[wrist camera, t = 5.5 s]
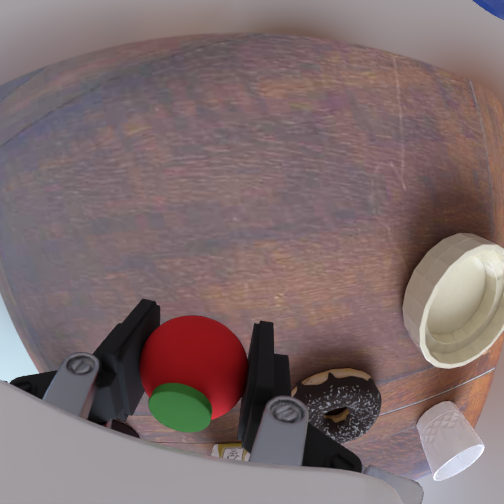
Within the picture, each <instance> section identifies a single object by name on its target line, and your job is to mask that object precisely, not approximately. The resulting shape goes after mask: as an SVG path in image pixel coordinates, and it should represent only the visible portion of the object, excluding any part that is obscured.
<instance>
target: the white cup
mask: <svg viewBox="0 0 504 504" xmlns="http://www.w3.org/2000/svg"><path fill="white" fill-rule="evenodd" d="M416 427H417V430H418V433H419V435H420V438H421V443H422V445H423V449H424V452H425V455H426V458H427V461H428V464H429V467H430V470H431V473H432V475H433V479H434V480H436V481H439V480H444V479H447V478H450V477H452V476H454V475H456V474H458V473H459V472H461V471H463V470H464V469H466V468H467V467H468V466H469V465H471V464H472V463H473V462H474V461H475V460H476V459H477V458H478V457H479V456H480V455H481V454H482V452H483V450H484V447H485V446H484V444H483V443H482V442H481V440H480V438H479V437H478V435H477V434H476V432H475V431H474V429H473V428H472V426H471V425H470V423H469V422H468V421H467V420H466V418H465V417H464V415H463V414H462V413H461V412H460V411H459V409H458V408H457V406H456V405H455V404H454V403H453V402H451V401H444V402H441V403H439V404H436V405H434V406H433V407H431V408H430V409H429V410H427V411H426V412H425V413H424V414H423V415H422V416H421V417H420V418H419V420H418V423H417V425H416Z"/></svg>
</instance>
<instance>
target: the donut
mask: <svg viewBox="0 0 504 504" xmlns="http://www.w3.org/2000/svg"><path fill="white" fill-rule="evenodd" d="M296 385H297V386H296V387H295V388H294V389H293V390H292V392H291V396H292V397H293V398H297V399H298V400H300V401H302V402H303V403H304V404H305V405H306V407H307V408H308V411H309V418H308V422H309V423H310V424H312V425H313V426H315V427H316V428H317V429H319V430H320V431H322V432H323V433H324V434H326V435H327V436H329V437H330V438H332V439H333V440H335V441H336V442H338V443H339V444H341V443H342V444H344V443H346V442H349V441H352V440H354V439H357V438H358V437H360V436H362V435H363V434H365V433H366V432H367V431H368V430H369V429H370V428H371V427H372V425H373V424H374V423H375V421H376V420H377V417H378V415H379V413H380V408H381V394H380V392H379V390H378V389H377V387H376V384H375V381H374V380H373V379H372V377H371V376H370V375H368V374H367V373H365V372H363V371H358V370H354V369H350V368H345V369H331V370H328V371H325V372H321V373H318V374H315V375H313V376H311V377H309V378H307V379H305V380H304V381H302V382H301V381H299V382H297V384H296ZM345 406H346V407H347V408H346V409H345V410H344V411H343V412H341V413H340V414H338V415H324V413H327V412H328V411H331V410H334V409H337V408H342V407H345Z"/></svg>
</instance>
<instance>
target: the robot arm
mask: <svg viewBox="0 0 504 504" xmlns="http://www.w3.org/2000/svg"><path fill="white" fill-rule="evenodd" d="M159 326H160V306H159V305H157V304H156V302H155V301H151V300H147V299H142V300H141V301H140V302H139V304H138V305H137V306H136V307H135V308H134V310H133V311H132V312H131V313H130V314H129V315H128V317H127V318H126V319H125V320H124V321H123V323H122V324H121V323H119V324H118V325H116V327H115V328H114V329H113V330H112V331H111V333H110V334H109V335H108V336H107V337H106V339H105V340H104V341H103V342H102V343H101V345H100V346H99V347H98V348H97V349H96V351H95V352H94V353H93V354H90V353H86V352H77V353H73V354H70V355H69V356H67V357H66V358H65V359H64V361H63V362H62V364H61V366H60V368H59V369H58V370H56V371H50V372H45V373H39V374H34V375H28V376H22V377H18V378H16V379H14V380H12V381H11V382H10V383H8V382H7V381H2V380H0V504H421V503H422V500H423V493H424V492H423V490H422V487H421V486H420V485H419V483H417V482H415V481H413V480H411V479H408V478H405V477H402V476H399V475H396V474H393V473H390V472H388V471H385V470H382V469H380V468H377V467H375V466H372V465H369V466H368V467H366V466H364V465H362V463H361V461H360V459H359V458H358V456H356V455H355V454H354V453H353V452H351V451H350V450H348V449H347V448H345V447H344V446H342V445H341V444H339V443H338V442H336V441H335V440H333V439H332V438H330V437H329V436H327V435H326V434H324V433H323V432H322V431H320V430H319V429H317V428H316V427H315V426H313V425H312V424H310V423H309V422H308V418H309V411H308V408H307V407H306V405H305V404H304V403H303V402H302V401H300V400H298V399H297V398H293V397H292V396H291V383H290V371H289V359H288V355H281V354H274V328H273V322H266V321H260V323H259V324H256V323H254V328H253V333H252V338H251V344H250V349H249V354H248V359H247V360H248V374H247V381H246V386H245V391H244V393H243V395H242V400H241V408H240V417H239V425H238V433H237V439H238V440H242V447H241V448H244V449H245V450H246V451H247V452H248V453H250V457H249V460H248V461H241V460H234V459H227V458H221V457H215V456H209V455H204V454H199V453H194V452H189V451H185V450H181V449H176V448H172V447H168V446H164V445H160V444H157V443H153V442H150V441H146V440H143V439H139V438H136V437H133V436H130V435H127V434H124V433H121V432H118V431H115V430H112V429H110V428H111V424H112V420H113V419H119V420H122V421H126V419H127V417H128V415H131V416H132V415H133V414H134V412H135V410H136V407H137V405H138V403H139V401H140V399H141V397H142V395H143V393H144V391H145V389H144V387H143V385H142V382H141V378H140V371H139V363H140V356H141V352H142V349H143V346H144V344H145V342H146V341H147V339H148V337H149V336H150V335H151V334H152V333H153V331H154V330H155V329H157V328H158V327H159Z"/></svg>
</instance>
